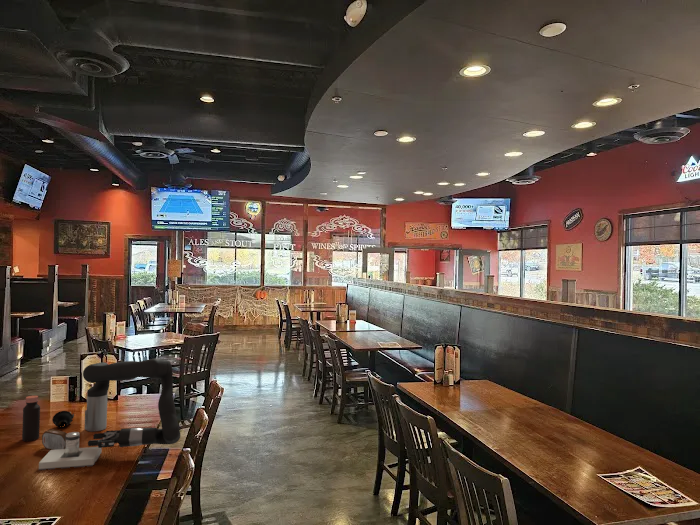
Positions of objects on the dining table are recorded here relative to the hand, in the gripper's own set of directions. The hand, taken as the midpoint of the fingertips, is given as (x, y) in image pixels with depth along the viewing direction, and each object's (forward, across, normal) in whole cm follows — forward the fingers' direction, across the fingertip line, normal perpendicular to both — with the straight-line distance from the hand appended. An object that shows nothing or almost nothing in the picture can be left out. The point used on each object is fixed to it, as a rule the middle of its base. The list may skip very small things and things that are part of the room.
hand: (90, 439), depth 205 cm
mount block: (+7, 0, +9) cm, 11 cm away
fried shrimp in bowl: (+24, -52, +9) cm, 59 cm away
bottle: (+34, -32, +9) cm, 47 cm away
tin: (+18, -16, +9) cm, 25 cm away
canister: (+7, 0, +8) cm, 11 cm away
